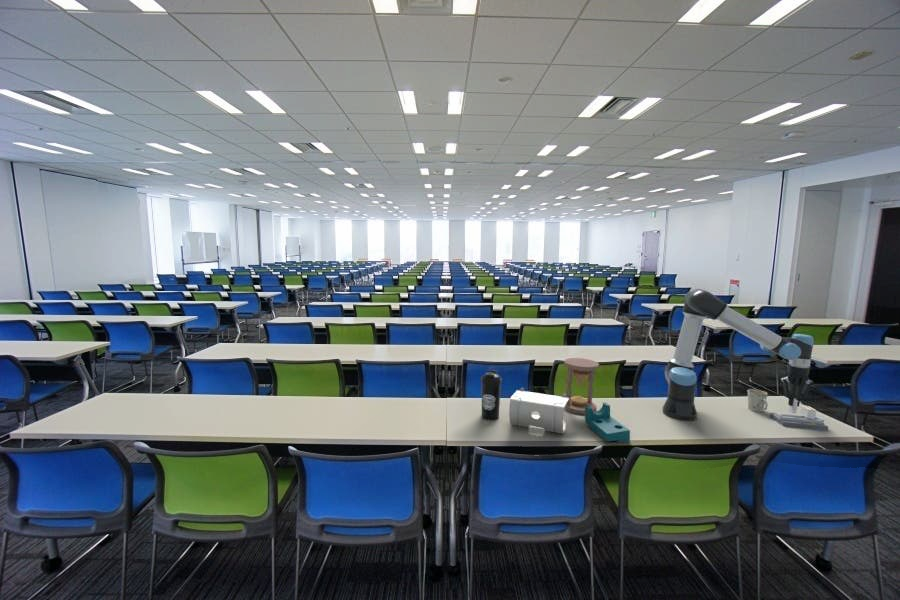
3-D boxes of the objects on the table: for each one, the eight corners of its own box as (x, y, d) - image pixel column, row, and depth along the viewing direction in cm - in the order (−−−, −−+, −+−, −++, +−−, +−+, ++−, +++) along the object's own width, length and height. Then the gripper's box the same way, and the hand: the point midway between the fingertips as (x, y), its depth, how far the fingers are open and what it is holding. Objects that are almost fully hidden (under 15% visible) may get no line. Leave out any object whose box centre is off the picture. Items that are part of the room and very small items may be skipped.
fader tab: (806, 421, 182) (808, 408, 181) (800, 417, 186) (801, 405, 186) (814, 422, 181) (816, 409, 180) (807, 417, 185) (809, 405, 185)
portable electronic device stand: (506, 431, 170) (507, 399, 169) (516, 412, 192) (517, 383, 190) (564, 442, 161) (566, 408, 159) (568, 420, 183) (570, 390, 181)
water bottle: (477, 419, 183) (478, 373, 180) (483, 411, 192) (484, 368, 190) (497, 422, 179) (499, 376, 177) (502, 414, 189) (504, 370, 186)
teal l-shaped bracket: (585, 426, 179) (584, 405, 177) (606, 422, 181) (605, 402, 179) (607, 444, 161) (606, 422, 160) (629, 441, 163) (629, 418, 162)
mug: (758, 407, 205) (760, 389, 204) (775, 416, 192) (777, 398, 191) (741, 406, 206) (743, 388, 204) (758, 415, 193) (760, 397, 192)
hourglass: (587, 401, 208) (590, 357, 206) (602, 414, 191) (605, 367, 188) (556, 401, 207) (559, 357, 205) (568, 414, 190) (571, 367, 187)
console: (782, 425, 182) (783, 417, 181) (769, 416, 192) (770, 409, 192) (827, 430, 177) (828, 422, 177) (811, 420, 188) (812, 413, 187)
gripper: (788, 366, 180) (781, 413, 183) (820, 369, 177) (813, 416, 180) (778, 362, 187) (772, 407, 190) (809, 365, 184) (803, 410, 187)
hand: (792, 412), depth 185 cm, fingers closed
